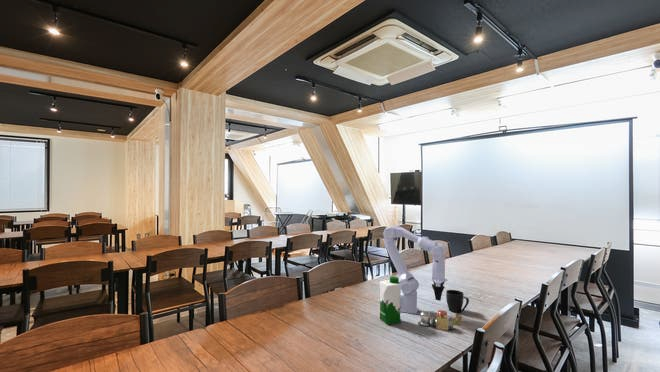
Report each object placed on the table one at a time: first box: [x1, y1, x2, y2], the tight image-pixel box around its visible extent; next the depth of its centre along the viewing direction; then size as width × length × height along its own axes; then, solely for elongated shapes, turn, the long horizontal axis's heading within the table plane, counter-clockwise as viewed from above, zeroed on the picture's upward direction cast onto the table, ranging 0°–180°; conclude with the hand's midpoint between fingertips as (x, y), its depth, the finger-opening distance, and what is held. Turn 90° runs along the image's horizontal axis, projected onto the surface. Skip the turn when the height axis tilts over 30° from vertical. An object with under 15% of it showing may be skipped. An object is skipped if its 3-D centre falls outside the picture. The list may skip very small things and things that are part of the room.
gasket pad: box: [417, 321, 432, 328], centre depth 136 cm, size 6×6×1 cm
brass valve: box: [430, 309, 454, 331], centre depth 133 cm, size 9×5×7 cm, turn 68°
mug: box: [445, 289, 470, 314], centre depth 151 cm, size 8×12×10 cm
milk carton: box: [379, 276, 402, 326], centre depth 139 cm, size 9×9×20 cm
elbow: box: [450, 313, 463, 326], centre depth 137 cm, size 4×2×4 cm, turn 88°
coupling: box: [419, 310, 431, 327], centre depth 136 cm, size 4×4×5 cm
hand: (438, 297), depth 143 cm, fingers open, 7 cm apart
